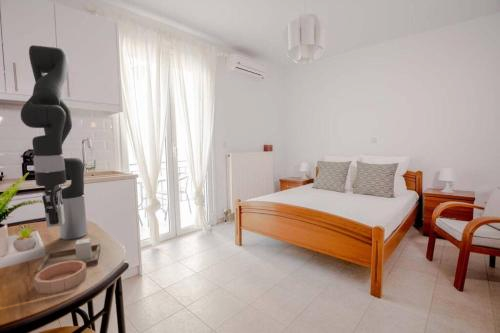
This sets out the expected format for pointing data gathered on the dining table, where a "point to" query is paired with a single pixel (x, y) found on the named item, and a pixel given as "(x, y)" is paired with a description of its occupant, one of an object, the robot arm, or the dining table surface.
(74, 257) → the tray
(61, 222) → the light grey block
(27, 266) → the dining table surface
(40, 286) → the bowl
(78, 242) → the white rectangular block
